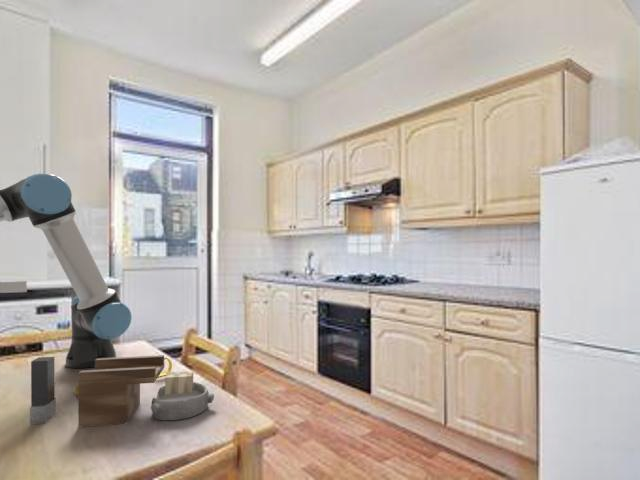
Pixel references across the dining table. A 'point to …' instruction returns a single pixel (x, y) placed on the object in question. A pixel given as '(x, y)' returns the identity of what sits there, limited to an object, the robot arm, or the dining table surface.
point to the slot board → (114, 388)
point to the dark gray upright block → (42, 390)
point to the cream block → (171, 383)
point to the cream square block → (185, 382)
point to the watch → (168, 368)
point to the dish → (181, 403)
